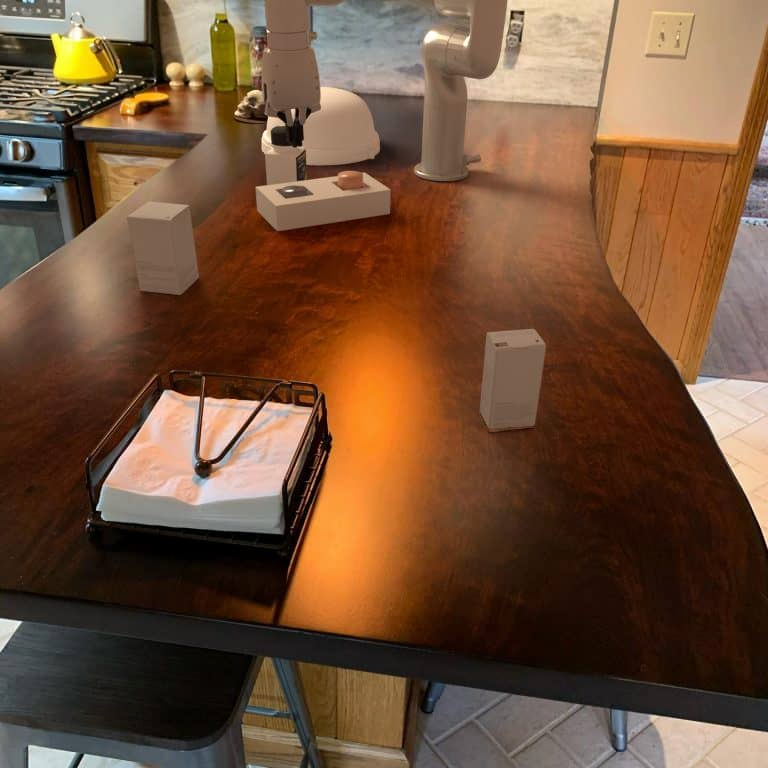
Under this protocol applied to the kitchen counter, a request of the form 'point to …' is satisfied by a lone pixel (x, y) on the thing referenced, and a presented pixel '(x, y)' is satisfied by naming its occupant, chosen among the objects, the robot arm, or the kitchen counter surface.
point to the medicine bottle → (284, 159)
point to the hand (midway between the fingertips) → (295, 145)
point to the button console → (321, 203)
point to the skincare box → (512, 378)
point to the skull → (252, 108)
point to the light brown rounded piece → (350, 180)
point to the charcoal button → (294, 191)
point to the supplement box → (163, 247)
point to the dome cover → (335, 130)
